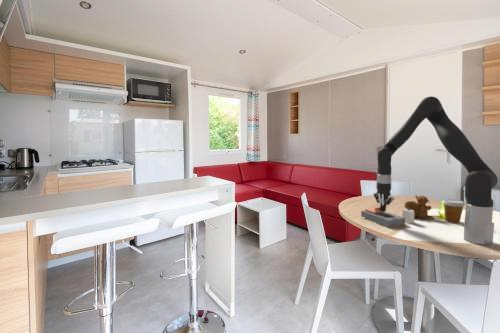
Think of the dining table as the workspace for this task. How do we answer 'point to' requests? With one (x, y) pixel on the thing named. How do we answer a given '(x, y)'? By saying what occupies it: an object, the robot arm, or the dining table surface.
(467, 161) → the robot arm
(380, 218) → the socket block
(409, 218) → the plug
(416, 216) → the stuffed squirrel
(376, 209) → the shutter
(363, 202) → the dining table surface
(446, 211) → the disposable coffee cup
